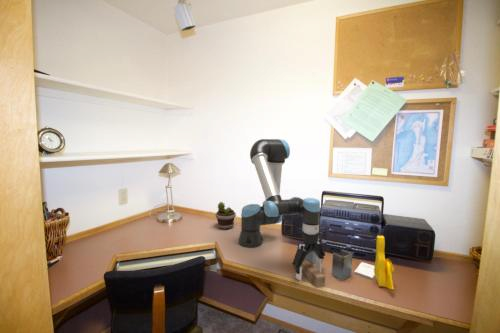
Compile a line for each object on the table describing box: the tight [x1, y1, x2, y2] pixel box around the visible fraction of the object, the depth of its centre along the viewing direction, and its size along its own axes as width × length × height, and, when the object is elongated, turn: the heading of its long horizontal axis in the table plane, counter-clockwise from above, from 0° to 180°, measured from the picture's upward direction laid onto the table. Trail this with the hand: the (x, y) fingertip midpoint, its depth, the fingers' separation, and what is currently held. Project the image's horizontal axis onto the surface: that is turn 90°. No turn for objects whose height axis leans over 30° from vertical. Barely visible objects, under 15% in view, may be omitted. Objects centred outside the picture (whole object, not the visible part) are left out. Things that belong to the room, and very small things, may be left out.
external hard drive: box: [353, 261, 376, 281], centre depth 116 cm, size 2×8×12 cm
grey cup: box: [331, 249, 354, 281], centre depth 111 cm, size 6×7×11 cm
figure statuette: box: [374, 235, 395, 290], centre depth 105 cm, size 18×8×22 cm, turn 161°
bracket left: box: [305, 245, 318, 265], centre depth 126 cm, size 6×7×11 cm
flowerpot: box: [215, 200, 237, 230], centre depth 171 cm, size 14×15×20 cm
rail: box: [301, 259, 326, 289], centre depth 112 cm, size 19×4×5 cm, turn 20°
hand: (308, 274), depth 112 cm, fingers open, 13 cm apart
